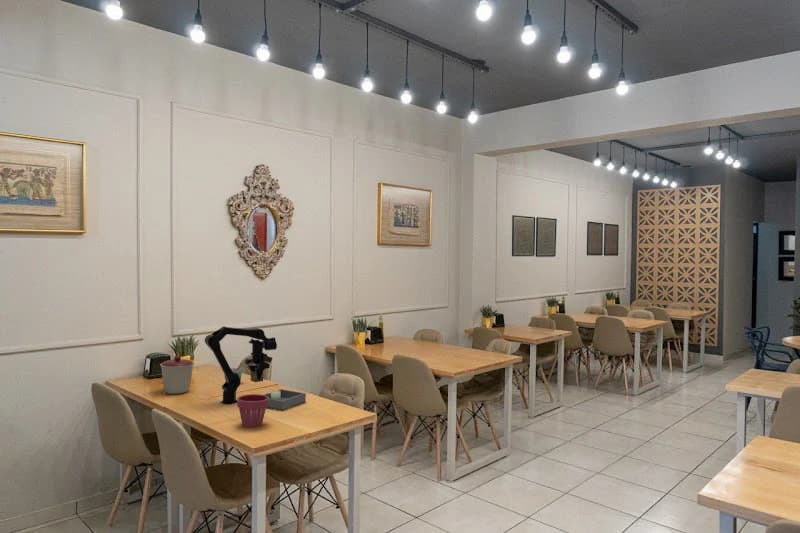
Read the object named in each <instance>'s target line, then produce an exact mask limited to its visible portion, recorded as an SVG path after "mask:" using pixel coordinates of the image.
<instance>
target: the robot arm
mask: <svg viewBox="0 0 800 533" xmlns="http://www.w3.org/2000/svg"><path fill="white" fill-rule="evenodd" d="M227 335H229V336H239V337H240V336H242V337H249V338H251V339H250V340H249V341H248V343H249V344H251V346H252V347H251V351H252V352H250V355H251V358H246V359H245V360H244V364H245V365H247V367H248V369H249V371H250V373H251V372H252V371H256V375H257V378H258V380H260V379H261V376H262V373H263V374H264V371H265V370H266V369H270V367H271V365H270V364H272V360H273V357H272V356H268V354H267V353H265V352H263V350H264V351H274V350H277V349H278V348H277V347H278V343H277V340H276V337H267V336H266V334H265V331H264V330H263V329H261V328H258V327H251V328H239V327H229V326H228V327H227V326H225V325H224V326H221V327H220V328H219V329H217V330H215V331H213V333H210V334H208V335H206V336H205V338H204V343H205V345H207V347H208V348H209V350H210V351H212V353H213V355H214V357H215V359H216V360H217V362H218V364H219V366H220V368H221V370H222V372H223V374H224V379H225V382H224V383H223V384H222V385H221V388H222V390H223V391H222V400H221V401H220V404H221V403H222V404H226V405H230V404H234V403H237V390H238V388H239V387H240V386H241V382H240V380H242V378H241V379H240V378H239V377H238V374H237V373H236V372H232V370H231V369H232V368H231V367H230V365H229V362H228V361H227V358H226V357H225V355H224V353H223V351H222V349H221V348H222V347H221V343H220V342H221V341H222V340H223V339H224V338H225V337H226V336H227Z"/></svg>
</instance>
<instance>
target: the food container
mask: <svg viewBox="0 0 800 533" xmlns="http://www.w3.org/2000/svg"><path fill="white" fill-rule="evenodd" d="M231 370H232V372H236V373H237V374H238V377H239V378H240V379H241V380H242V372H243V371H244V369H243V367H242V366H241V365H240V366H239V367H237V368H234V367H233V368H231ZM241 380H240V383H241Z"/></svg>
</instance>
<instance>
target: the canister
mask: <svg viewBox="0 0 800 533" xmlns="http://www.w3.org/2000/svg"><path fill="white" fill-rule="evenodd" d="M181 358H182V357H181V356H180V355H176V356H174V359H169V360H165V361H163V362H162V363H160V364H159V366H160V367H161V374H162V385H163V390H164V392H165V393H166V394H169V395H179V394H180V395H181V394H185V393H187V392H188V391H189V390H190V388H191V382H192V377H193V376H192V374H193V368H194V365H195V362H194V361H192V360H190V359H185V358H184V359H183V358H182V359H181Z"/></svg>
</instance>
